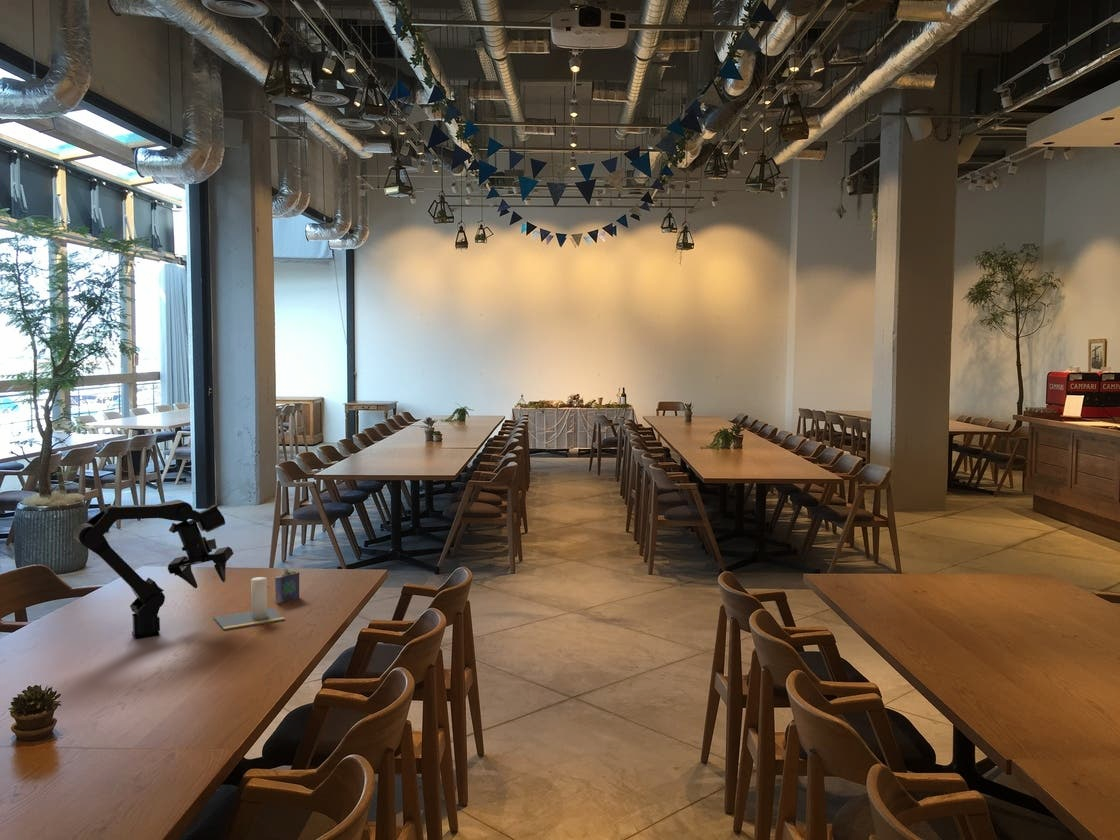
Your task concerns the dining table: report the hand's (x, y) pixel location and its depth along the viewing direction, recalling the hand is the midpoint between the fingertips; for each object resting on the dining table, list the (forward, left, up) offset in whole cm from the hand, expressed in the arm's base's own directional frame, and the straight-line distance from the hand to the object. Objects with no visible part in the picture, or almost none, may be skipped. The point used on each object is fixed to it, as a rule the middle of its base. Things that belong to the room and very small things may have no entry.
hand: (210, 584), depth 266 cm
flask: (+26, +10, -12) cm, 30 cm away
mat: (+10, -4, -12) cm, 16 cm away
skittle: (+13, -5, -11) cm, 18 cm away
